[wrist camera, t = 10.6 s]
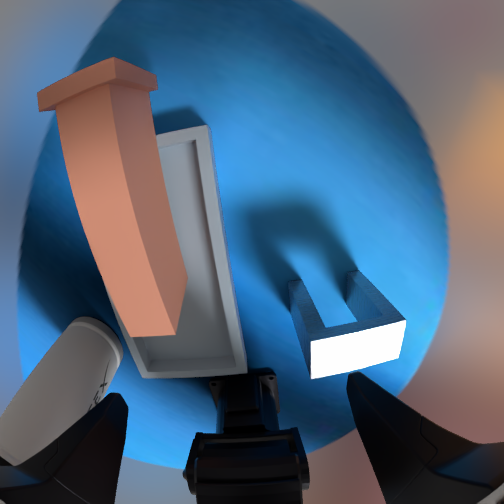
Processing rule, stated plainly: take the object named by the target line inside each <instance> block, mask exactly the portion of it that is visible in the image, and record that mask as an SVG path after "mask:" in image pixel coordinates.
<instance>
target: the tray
mask: <svg viewBox="0 0 504 504" xmlns="http://www.w3.org/2000/svg"><path fill="white" fill-rule="evenodd" d="M156 140H157V146H158V151H159V157H160V162H161V167H162V172H163V177H164V182H165V186H166V191H167V196H168V200H169V205H170V209H171V213H172V218H173V222H174V226H175V230H176V234H177V238H178V242H179V246H180V250H181V254H182V258H183V261H184V265H185V269H186V272H187V276H188V280H187V285H186V289H185V293H184V298H183V302H182V307H181V312H180V316H179V321H178V326H177V331H176V335H165V336H146V337H130V335H129V333H128V331H127V329H126V327H125V325H124V323H123V321H122V319H121V317H120V315H119V313H118V311H117V309H116V307H115V305H114V303H113V301H112V298H111V296H110V294H109V292H108V290H107V287H106V285H105V287H106V290H107V293H108V296H109V299H110V302H111V305H112V308H113V310H114V313H115V316H116V318H117V321H118V323H119V326H120V328H121V331H122V333H123V336H124V338H125V341H126V343H127V345H128V348H129V350H130V352H131V354H132V357H133V359H134V361H135V363H136V365H137V367H138V369H139V372H140V374H141V376H142V378H187V377H207V376H221V375H232V374H243V373H247V356H246V350H245V345H244V339H243V334H242V328H241V323H240V317H239V311H238V305H237V300H236V294H235V288H234V282H233V276H232V270H231V264H230V258H229V251H228V245H227V239H226V232H225V226H224V219H223V213H222V206H221V200H220V193H219V186H218V179H217V172H216V165H215V158H214V150H213V143H212V135H211V129H210V128H209V126H208V125H203V126H197V127H192V128H187V129H182V130H177V131H172V132H167V133H163V134H158V135H156ZM103 281H104V280H103ZM104 284H105V283H104Z"/></svg>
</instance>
